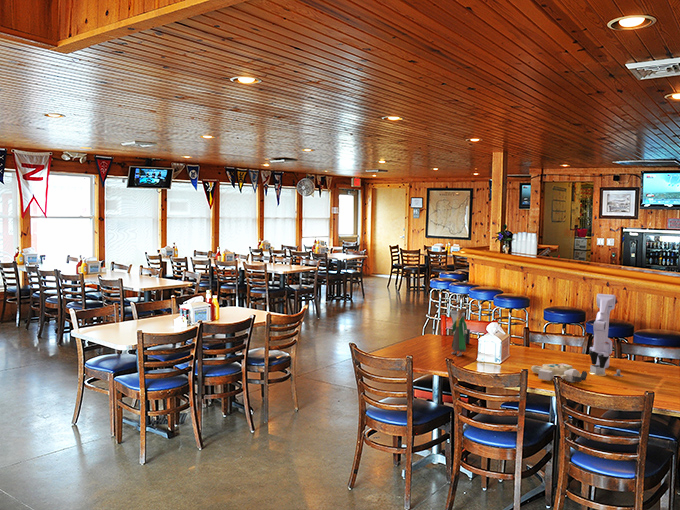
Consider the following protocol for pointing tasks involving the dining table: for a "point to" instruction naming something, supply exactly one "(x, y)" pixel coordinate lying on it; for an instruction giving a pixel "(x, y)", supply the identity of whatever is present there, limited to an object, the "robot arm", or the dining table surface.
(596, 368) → the collar
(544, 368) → the toy
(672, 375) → the dining table surface
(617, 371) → the stand
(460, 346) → the figurine
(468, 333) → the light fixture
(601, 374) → the hub
